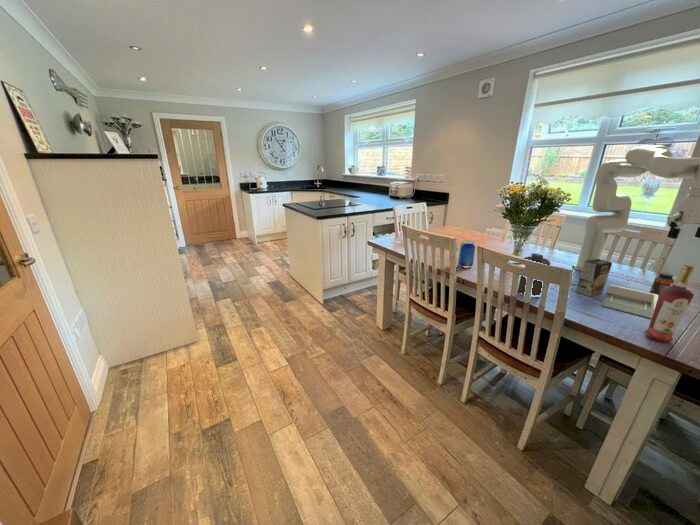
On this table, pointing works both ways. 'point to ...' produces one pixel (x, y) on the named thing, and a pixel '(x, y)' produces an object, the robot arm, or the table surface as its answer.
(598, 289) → the coffee box
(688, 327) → the table surface
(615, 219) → the robot arm
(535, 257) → the canister
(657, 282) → the supplement bottle
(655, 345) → the table surface
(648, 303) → the corner arena
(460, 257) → the beer can
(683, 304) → the liquor
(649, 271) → the table surface
